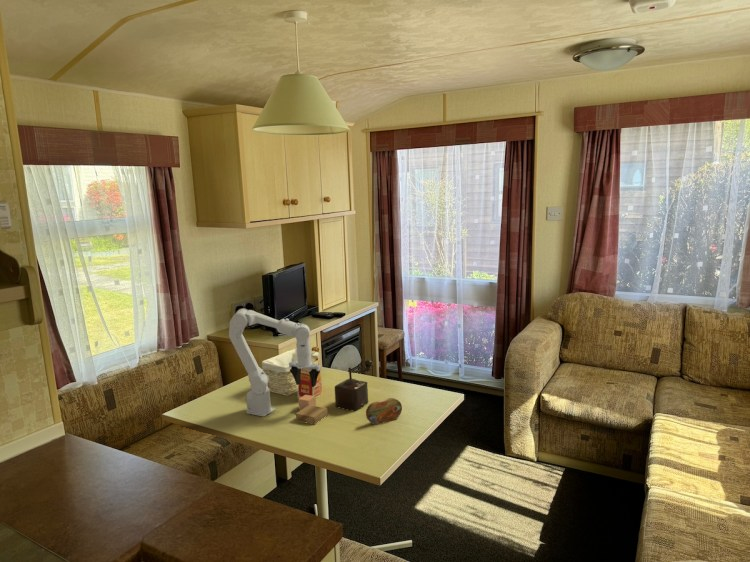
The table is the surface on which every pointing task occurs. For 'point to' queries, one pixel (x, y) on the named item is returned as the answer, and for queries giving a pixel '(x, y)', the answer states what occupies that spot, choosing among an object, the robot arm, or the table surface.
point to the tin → (383, 410)
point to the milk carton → (309, 382)
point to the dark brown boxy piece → (352, 391)
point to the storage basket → (282, 372)
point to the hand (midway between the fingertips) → (306, 385)
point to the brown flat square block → (311, 414)
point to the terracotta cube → (306, 401)
